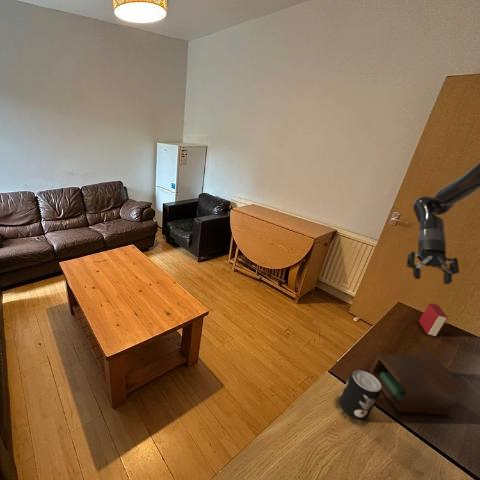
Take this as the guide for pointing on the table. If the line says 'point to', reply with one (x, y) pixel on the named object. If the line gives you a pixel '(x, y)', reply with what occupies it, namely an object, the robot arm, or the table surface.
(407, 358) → the bookshelf
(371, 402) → the beverage can
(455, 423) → the table surface
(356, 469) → the table surface
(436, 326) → the book
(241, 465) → the table surface
